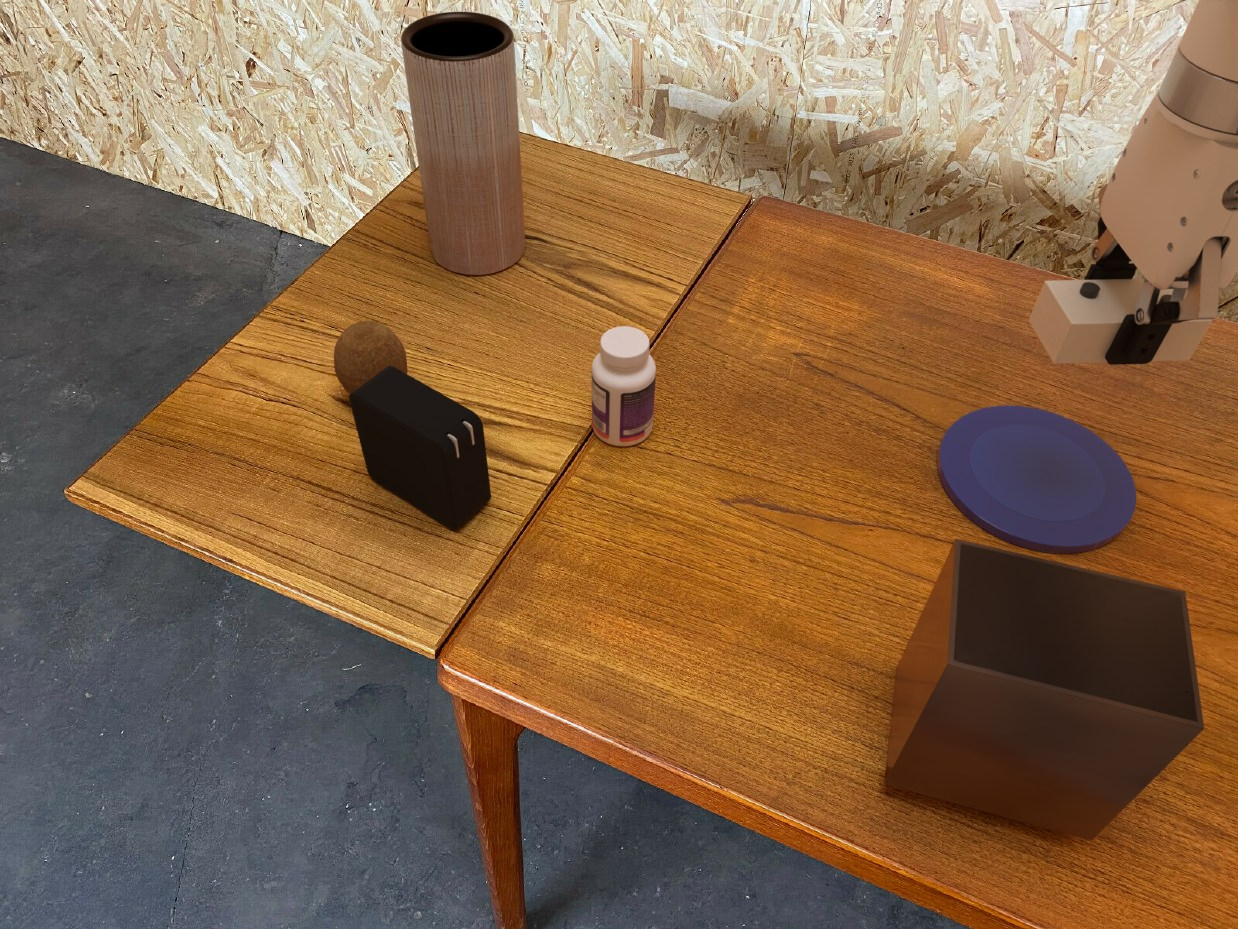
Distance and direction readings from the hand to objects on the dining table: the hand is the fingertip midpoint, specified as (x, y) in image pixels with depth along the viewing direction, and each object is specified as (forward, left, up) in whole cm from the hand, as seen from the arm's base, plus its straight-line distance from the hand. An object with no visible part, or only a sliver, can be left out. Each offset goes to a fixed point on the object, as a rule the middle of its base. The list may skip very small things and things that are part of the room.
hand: (1110, 333), depth 69 cm
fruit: (+57, +7, -16) cm, 60 cm away
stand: (+3, +26, -16) cm, 31 cm away
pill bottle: (+35, +4, -16) cm, 39 cm away
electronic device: (+48, +16, -16) cm, 53 cm away
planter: (+57, -17, -16) cm, 62 cm away
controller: (0, 0, -1) cm, 1 cm away
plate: (0, 0, -16) cm, 16 cm away
